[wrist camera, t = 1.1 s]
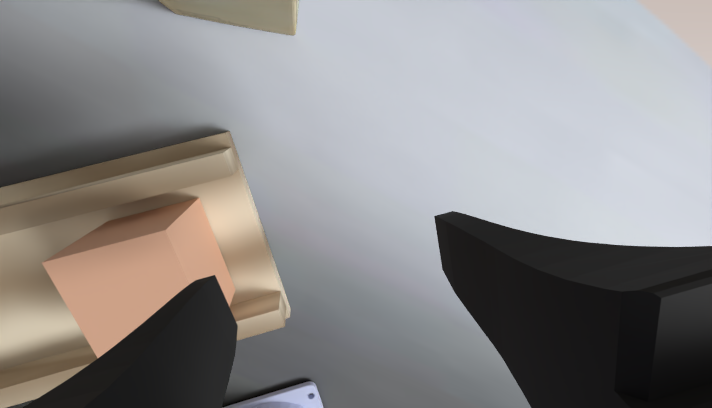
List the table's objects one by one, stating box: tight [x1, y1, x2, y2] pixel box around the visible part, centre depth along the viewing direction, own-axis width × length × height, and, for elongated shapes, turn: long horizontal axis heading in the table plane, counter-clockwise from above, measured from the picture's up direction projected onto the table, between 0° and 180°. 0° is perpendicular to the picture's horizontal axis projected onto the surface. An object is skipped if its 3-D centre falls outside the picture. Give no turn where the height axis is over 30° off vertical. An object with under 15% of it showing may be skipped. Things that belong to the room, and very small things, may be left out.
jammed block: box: [42, 198, 236, 358], centre depth 18 cm, size 6×5×5 cm
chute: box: [0, 131, 290, 408], centre depth 19 cm, size 12×24×3 cm, turn 103°
